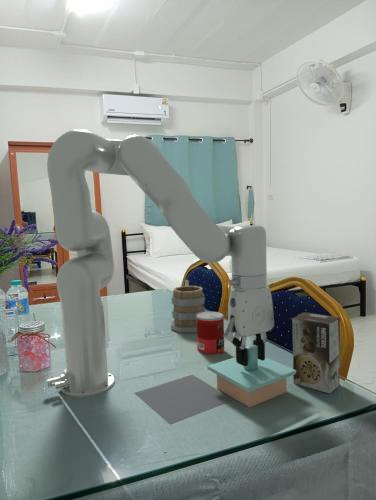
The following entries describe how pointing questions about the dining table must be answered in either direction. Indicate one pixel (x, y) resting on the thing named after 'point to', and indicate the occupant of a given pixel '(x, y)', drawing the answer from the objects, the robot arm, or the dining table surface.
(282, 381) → the pink storage bin
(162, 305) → the dining table surface
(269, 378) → the lid
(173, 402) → the mat
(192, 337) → the dining table surface
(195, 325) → the tankard
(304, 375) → the coffee box
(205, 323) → the canned food
